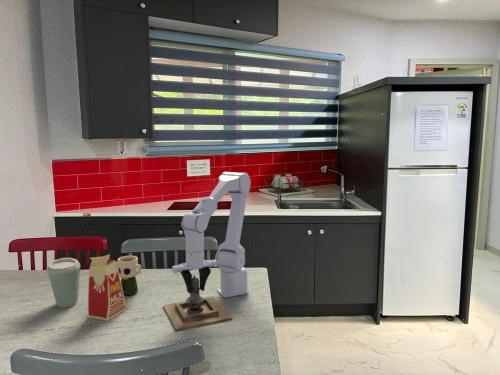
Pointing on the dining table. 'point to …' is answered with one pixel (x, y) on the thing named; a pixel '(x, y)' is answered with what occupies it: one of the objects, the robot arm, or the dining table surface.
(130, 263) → the character mug
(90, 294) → the milk carton
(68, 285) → the disposable coffee cup
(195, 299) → the salt shaker
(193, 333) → the dining table surface
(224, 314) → the walnut holder
